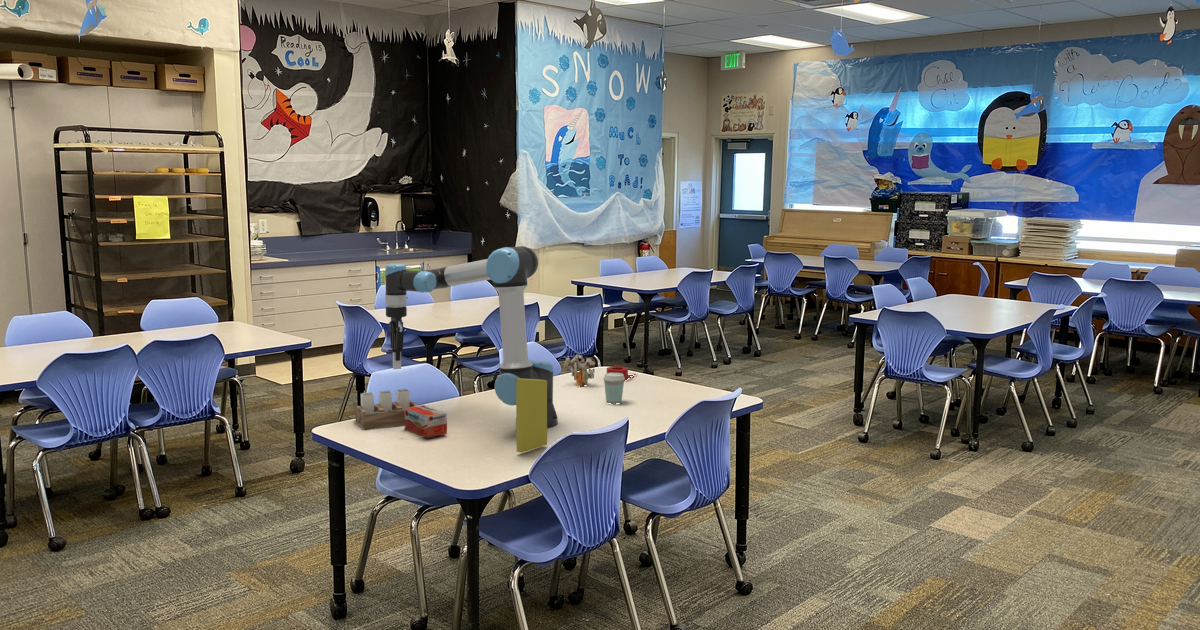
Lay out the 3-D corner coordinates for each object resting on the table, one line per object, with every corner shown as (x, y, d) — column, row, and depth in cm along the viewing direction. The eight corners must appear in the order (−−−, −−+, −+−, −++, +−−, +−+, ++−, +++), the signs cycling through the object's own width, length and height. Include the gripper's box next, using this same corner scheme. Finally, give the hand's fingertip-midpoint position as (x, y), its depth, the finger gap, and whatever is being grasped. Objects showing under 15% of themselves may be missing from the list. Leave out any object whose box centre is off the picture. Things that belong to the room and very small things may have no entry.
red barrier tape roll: (618, 386, 374) (619, 371, 373) (602, 383, 380) (602, 368, 379) (643, 380, 388) (643, 365, 387) (627, 377, 394) (627, 362, 393)
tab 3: (409, 409, 316) (409, 390, 315) (398, 410, 314) (398, 391, 313) (407, 407, 318) (406, 388, 317) (396, 409, 316) (396, 389, 315)
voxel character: (596, 388, 368) (596, 354, 366) (584, 392, 360) (584, 357, 358) (574, 385, 374) (574, 351, 372) (562, 389, 366) (562, 354, 364)
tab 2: (392, 411, 312) (391, 391, 311) (381, 412, 311) (380, 392, 310) (390, 409, 315) (389, 390, 314) (379, 411, 313) (378, 391, 312)
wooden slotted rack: (420, 423, 309) (420, 407, 308) (365, 430, 300) (364, 413, 299) (409, 414, 321) (409, 399, 320) (355, 421, 312) (355, 404, 311)
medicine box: (447, 434, 296) (447, 411, 295) (427, 438, 290) (427, 415, 289) (423, 425, 307) (423, 404, 306) (403, 429, 301) (403, 407, 300)
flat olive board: (542, 443, 286) (542, 372, 283) (547, 444, 284) (547, 373, 281) (516, 451, 276) (516, 378, 273) (521, 452, 275) (521, 379, 272)
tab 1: (374, 413, 309) (373, 393, 308) (363, 414, 307) (362, 394, 306) (372, 411, 312) (371, 391, 311) (361, 413, 310) (360, 393, 309)
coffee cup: (627, 405, 338) (627, 376, 337) (606, 407, 336) (606, 376, 335) (621, 400, 346) (621, 371, 345) (600, 402, 344) (601, 372, 343)
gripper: (411, 307, 312) (412, 371, 316) (401, 303, 324) (402, 364, 327) (390, 308, 309) (391, 372, 312) (381, 304, 320) (382, 366, 323)
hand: (397, 368), depth 319 cm, fingers closed
